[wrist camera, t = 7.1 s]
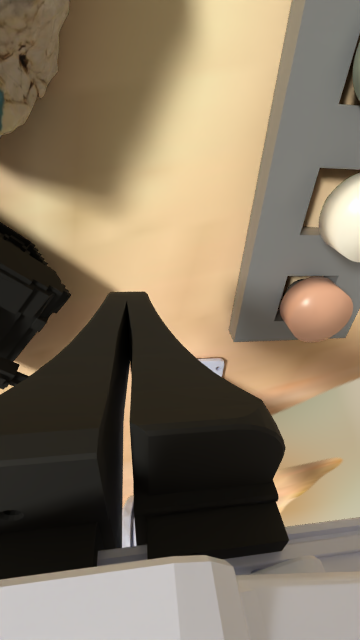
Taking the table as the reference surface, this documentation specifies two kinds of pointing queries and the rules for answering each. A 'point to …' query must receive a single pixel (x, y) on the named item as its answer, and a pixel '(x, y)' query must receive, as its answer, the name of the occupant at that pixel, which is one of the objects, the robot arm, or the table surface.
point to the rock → (27, 55)
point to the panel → (300, 169)
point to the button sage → (357, 72)
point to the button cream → (343, 219)
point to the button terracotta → (315, 309)
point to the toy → (23, 299)
